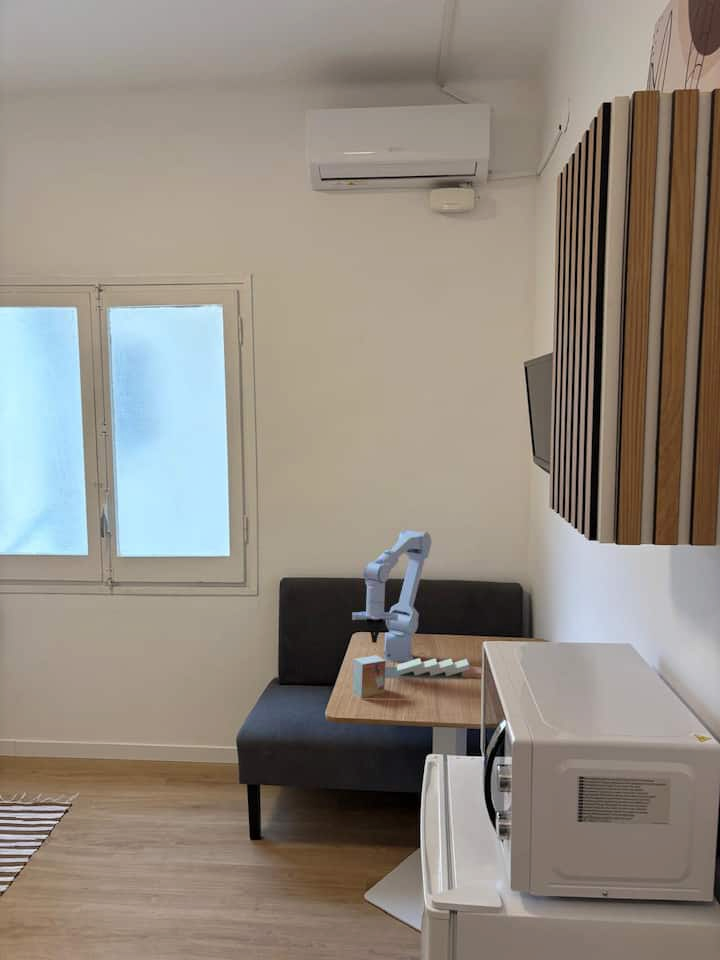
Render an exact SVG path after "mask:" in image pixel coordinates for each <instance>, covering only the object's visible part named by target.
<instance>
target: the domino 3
mask: <svg viewBox="0 0 720 960" xmlns="http://www.w3.org/2000/svg"><path fill="white" fill-rule="evenodd" d="M453 663H454V662H453V660H452V658H449V659H444V660H442V661H439V662H437V664H438V668H439V669H436V670H432V671H429V672H430V675H431V676H432V675H436V674H439V673H442V672H446V671H449V670H452V669H455V668H454V664H453Z"/></svg>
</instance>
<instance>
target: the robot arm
mask: <svg viewBox="0 0 720 960" xmlns="http://www.w3.org/2000/svg"><path fill="white" fill-rule="evenodd" d="M431 546H432V538H431V535H430V533H429V532H427V531H426V532H424V531H416V530H409V529H405V528H404V529H402V531H401V532H400V533H399V535H398V541H397V542H396V543H395V544H394V545H393V547H392V548H391V549H386V550H384V551H383V552H382V553H381V554H380V556H378V558H376V559H375V560H374V561H373V562H371V561H370V562H369V563H367V564H366V565H365V567H364V571H363V574H362V575H363V578H364V580H365V581H364V582H365V585H366V604H365V607H366V608H365V610H366V611H359V612H358V611H357V612H352V614H351V615H352V616H351V618H352V619H351V620H352V621H356V620H364V621H365V620H366V624H367V625H366V626H367V627H368V630H369V633H370V636H371V643H372V644H377V643H378V637H379V634H380V631H381V629H382V627H383V625H384V621H385V625H386V628H387V629H388V632H384V648H383V655H384V660H385V662H402V663H405V662H408V661H411V660H414V657H413V654H412V643H413V635H414V634H415V633H416V632H417V630H418V626H419V617H420V615H419V614H420V613H419V612H418V611H417V609H416V608H415V607H414V604H415V600H416V597H417V592H418V588H419V584H420V580H421V575H422V572H423V567H424V565H425V560H426V559H427V558H429V554H430V550H431ZM403 554H405V555H406V556H408V558H409V561H408V564H407V567H406V573H405V576H404V581H403V584H402V589H401V591H400V596H399V599H398V603H395V604H394V605H392V606H391V607H390V610H389V611H387V612H386V611H385V596H386V595H385V593H386V592H385V591H386V582H387V581H388V579H389V576H390V574H391V571H392V570H393V569H394V568H395V566H397V564H398V563H399V558H400V557H401V556H403Z"/></svg>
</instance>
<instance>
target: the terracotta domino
mask: <svg viewBox="0 0 720 960" xmlns="http://www.w3.org/2000/svg"><path fill="white" fill-rule="evenodd" d="M481 668H482V667H481V666H480V667H478V666H470V669H469V670H466V671H463V672H460V674H461V676H462V677H465V678H482V677H481ZM477 676H478V677H477ZM479 676H480V677H479Z"/></svg>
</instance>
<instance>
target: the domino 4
mask: <svg viewBox="0 0 720 960" xmlns="http://www.w3.org/2000/svg"><path fill="white" fill-rule="evenodd" d="M453 664H454V668H455V669H452V670H449V671H446V672H445V674H446V676H449V675H453V674H456V673H459V672H463V671H466V670H469V669H470V667H471V666H470V663H469V662H468V660H467V658H464V659H462V660H458V661H455V662H453Z"/></svg>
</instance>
